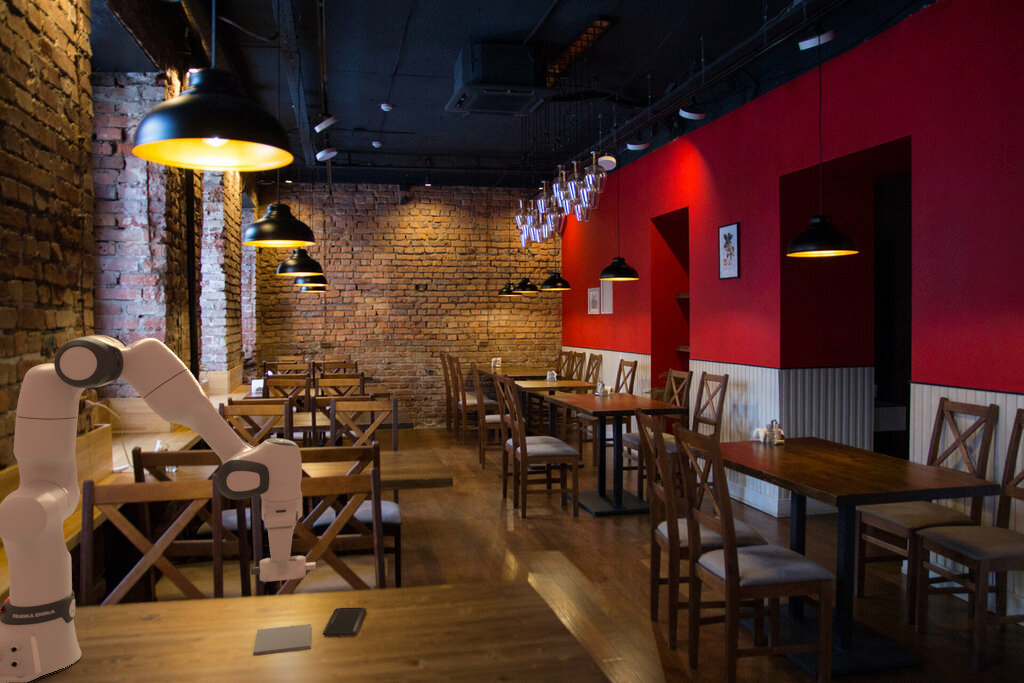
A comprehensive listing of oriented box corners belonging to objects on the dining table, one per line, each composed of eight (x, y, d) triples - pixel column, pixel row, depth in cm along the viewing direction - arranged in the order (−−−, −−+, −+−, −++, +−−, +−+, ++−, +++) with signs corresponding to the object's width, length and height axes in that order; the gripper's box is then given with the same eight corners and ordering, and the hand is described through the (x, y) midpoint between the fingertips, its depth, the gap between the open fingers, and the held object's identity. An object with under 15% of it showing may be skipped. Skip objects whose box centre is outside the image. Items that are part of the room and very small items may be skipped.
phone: (366, 607, 180) (355, 632, 165) (366, 611, 180) (355, 637, 165) (335, 607, 180) (321, 633, 165) (335, 612, 180) (321, 638, 165)
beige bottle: (250, 583, 159) (250, 565, 159) (252, 576, 163) (251, 559, 163) (315, 577, 163) (315, 559, 163) (315, 571, 167) (315, 554, 167)
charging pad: (253, 654, 156) (253, 652, 156) (257, 632, 168) (257, 629, 167) (310, 648, 159) (310, 645, 159) (310, 626, 171) (310, 623, 171)
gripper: (270, 500, 172) (270, 557, 172) (264, 522, 152) (265, 587, 152) (297, 498, 174) (298, 554, 174) (295, 520, 154) (296, 584, 154)
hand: (282, 570), depth 163 cm, fingers closed on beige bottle, 4 cm apart
